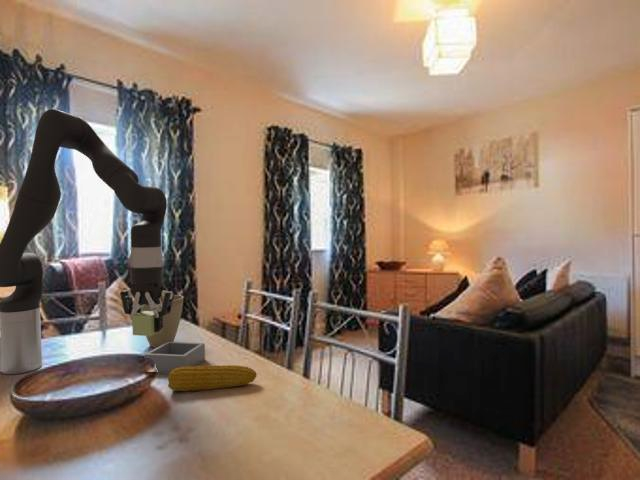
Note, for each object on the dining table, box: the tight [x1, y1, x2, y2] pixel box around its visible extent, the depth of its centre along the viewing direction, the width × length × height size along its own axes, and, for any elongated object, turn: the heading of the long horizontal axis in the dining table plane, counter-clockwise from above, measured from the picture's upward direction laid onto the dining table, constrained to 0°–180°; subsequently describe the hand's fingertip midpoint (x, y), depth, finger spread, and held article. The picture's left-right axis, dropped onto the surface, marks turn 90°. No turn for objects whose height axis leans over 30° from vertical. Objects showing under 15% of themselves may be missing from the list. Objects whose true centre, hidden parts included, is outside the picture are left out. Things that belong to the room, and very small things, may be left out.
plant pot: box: [142, 294, 184, 348], centre depth 135 cm, size 15×15×16 cm
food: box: [167, 364, 258, 392], centre depth 98 cm, size 21×6×6 cm, turn 102°
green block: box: [131, 311, 162, 337], centre depth 100 cm, size 5×5×5 cm
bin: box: [143, 341, 206, 374], centre depth 114 cm, size 12×12×5 cm
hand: (147, 330), depth 100 cm, fingers closed on green block, 5 cm apart
